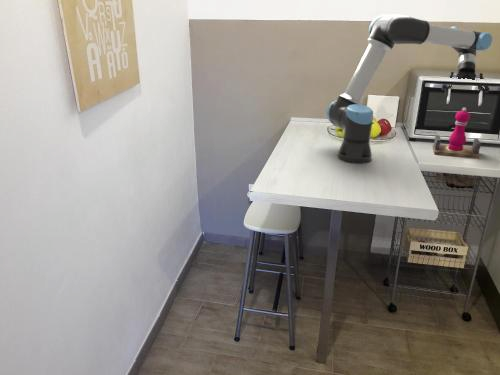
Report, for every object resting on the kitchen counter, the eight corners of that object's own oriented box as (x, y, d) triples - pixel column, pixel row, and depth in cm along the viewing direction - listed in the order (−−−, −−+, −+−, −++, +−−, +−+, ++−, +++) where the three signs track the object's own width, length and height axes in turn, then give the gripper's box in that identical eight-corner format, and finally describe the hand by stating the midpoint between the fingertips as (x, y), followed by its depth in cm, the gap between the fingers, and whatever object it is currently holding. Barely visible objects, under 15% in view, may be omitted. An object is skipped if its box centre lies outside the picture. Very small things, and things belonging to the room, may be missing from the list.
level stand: (434, 154, 191) (436, 141, 188) (432, 146, 201) (434, 133, 198) (478, 158, 185) (482, 145, 182) (474, 150, 195) (477, 137, 193)
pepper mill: (465, 152, 188) (475, 109, 180) (449, 150, 190) (458, 109, 181) (461, 147, 195) (470, 106, 187) (445, 146, 196) (454, 105, 188)
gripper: (493, 72, 194) (491, 109, 188) (437, 69, 202) (433, 105, 195) (498, 61, 188) (496, 100, 181) (440, 59, 195) (436, 96, 188)
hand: (463, 103), depth 188 cm, fingers open, 13 cm apart
